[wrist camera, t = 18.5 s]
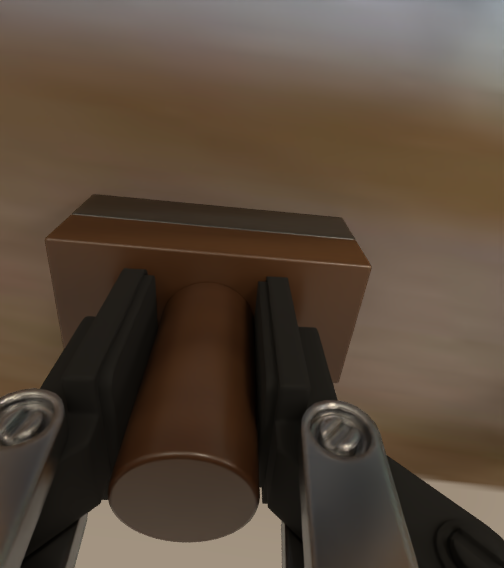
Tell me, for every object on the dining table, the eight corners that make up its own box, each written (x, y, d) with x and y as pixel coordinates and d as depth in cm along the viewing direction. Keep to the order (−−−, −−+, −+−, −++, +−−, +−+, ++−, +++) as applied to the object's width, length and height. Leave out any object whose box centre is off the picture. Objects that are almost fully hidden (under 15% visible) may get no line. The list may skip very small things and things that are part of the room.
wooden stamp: (92, 193, 12) (-136, 396, 5) (342, 217, 13) (476, 433, 5) (103, 301, 14) (-48, 560, 7) (319, 317, 15) (394, 575, 7)
